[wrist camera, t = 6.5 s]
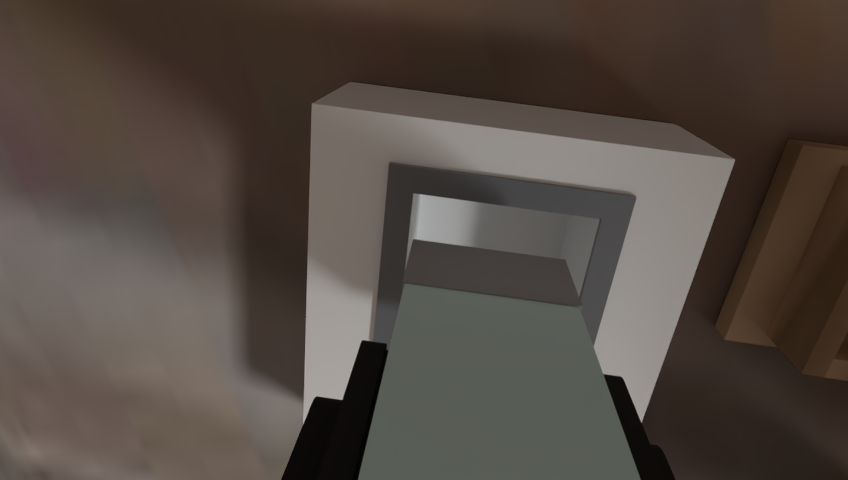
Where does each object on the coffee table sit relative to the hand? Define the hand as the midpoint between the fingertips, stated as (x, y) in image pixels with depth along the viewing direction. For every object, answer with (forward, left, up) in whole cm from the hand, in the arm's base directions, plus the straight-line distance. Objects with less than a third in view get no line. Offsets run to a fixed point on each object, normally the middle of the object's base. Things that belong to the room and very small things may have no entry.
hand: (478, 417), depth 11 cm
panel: (0, +3, -11) cm, 12 cm away
